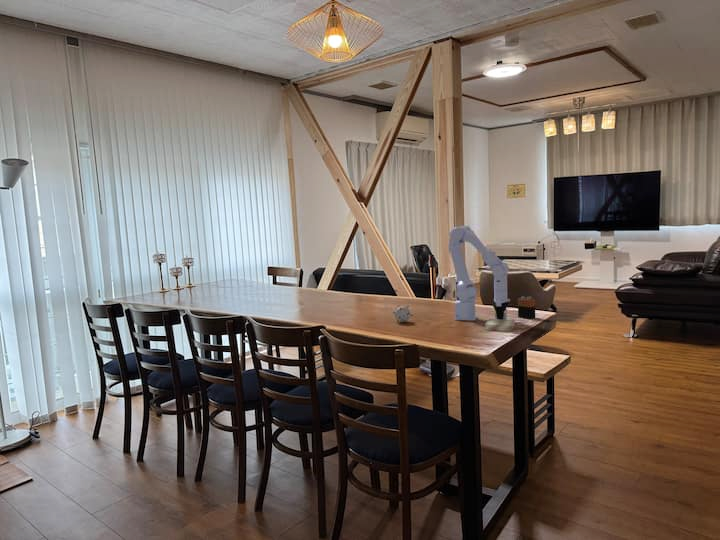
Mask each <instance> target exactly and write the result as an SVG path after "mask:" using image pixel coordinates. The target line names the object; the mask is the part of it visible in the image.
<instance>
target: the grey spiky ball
mask: <svg viewBox="0 0 720 540" xmlns="http://www.w3.org/2000/svg"><path fill="white" fill-rule="evenodd" d="M392 314H393V315H394V316H395V319H396V320H397V321H396V323H398V322H405V323H406V324H408V320H409V319H410V317H413V316H414V315H413V314H411V311H410V309H409V305H407V306H400V305H399V304H398V305H397V308H396V310H395V311H394V312H392Z"/></svg>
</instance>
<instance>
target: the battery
mask: <svg viewBox="0 0 720 540" xmlns="http://www.w3.org/2000/svg"><path fill="white" fill-rule="evenodd" d="M517 317H518V318H519V317H520V319H525V318H527V319H526V320H532V319H531V318H533V319H536V299H535V298H532V296H527V297H525V295H522V296H521V297H519V298H517Z"/></svg>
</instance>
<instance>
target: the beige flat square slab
mask: <svg viewBox="0 0 720 540" xmlns="http://www.w3.org/2000/svg"><path fill="white" fill-rule="evenodd" d="M515 322H516V321H515V319H507V320H502V319H495V318H489V319H487V321H486V322H485V324H484V330H485V331H492V330H496V332H497V331H498V332H512V331H513V330H514V328H515V325H516V324H515Z"/></svg>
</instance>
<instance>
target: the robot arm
mask: <svg viewBox="0 0 720 540" xmlns="http://www.w3.org/2000/svg"><path fill="white" fill-rule="evenodd" d="M464 242H466V243H470V244H471V245H472V246H473V247H474V248H475V249H476V250H477V251H478V252H479V254H480V255H481V260H483V262H484V263H485V264H486V265H487V266H488V267H489V269H491V273H492V275H493V291H494V293H493V294H494V295H493V296H494V297H493V298H494V299H493V301H494V302H495V304H493V305H492V307H493V309H494V311H495V312H496V315H497V319H502V320H503V317H504V311H507V307H508V305H509V302H511V299H510V298H508V273H509V272H510V267H509V265H508V264H507V263H506V262H504V261H503V260H502V259H500V258H499V257H498V256H497V255H496V251H493V250H491V249H488V248H487V247H486V246H485V245H484V244H483V242H482V241H481V240H480V238H479V237H478V236H477V234H476V233H475V232H474V230H472V229H471V227H470V226H468V225H461V226H455V227H453V228H452V229H451V230H450V232H449V242H448V248H449V252H450V256H451V260H452V263H453V267H454V270H455V274H456V279H457V284H456V289H457V292H456V297H457V298H458V299H457V300H455V301H454V320H455V321H476V320H477V319H478V316H477V315H476V296H477V294H478V290H477V287H476V286H475V285H474V282H473V281H472V280H471V279H470V275H469V272H468V269H467V268H468V267H467V265H466V261H465V257H464V254H463V249H462V246H463V245H464Z"/></svg>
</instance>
